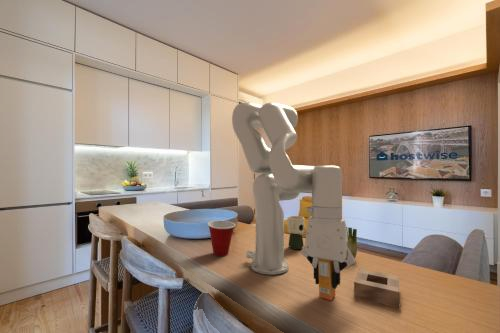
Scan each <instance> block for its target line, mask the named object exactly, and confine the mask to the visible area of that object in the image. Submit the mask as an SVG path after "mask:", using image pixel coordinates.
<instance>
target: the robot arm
mask: <svg viewBox="0 0 500 333" xmlns="http://www.w3.org/2000/svg"><path fill="white" fill-rule="evenodd" d="M298 122H299V116H298V112H297V110H296V109H294V107H292V106H289V105H286V104H282V103H281V104H280V103H278V102H266V103H264V104H263V105H261V104H257V103H253V102H241V103H237V105H235V107H234V109H233V110H232V117H231V123H232V128H233V131H234V133H235V136H236V138H237V140H239V143H240V145H241V148H242V151H243V153H244V156H245V159H246V161H247V162H246V163H247V165H248V167H249V169H250V171H251V172H252V173H253V174H257V177H255V179H254V180H253V183H252V192H253V197H254V205H255V250H252V249H248V250H247V251H246V255H245V257H246V258H248V259H252V261H251V262H250V268H251V270H252V271H254V272H255V273H258V274H262V275H270V276H272V275H273V276H274V275H281V274H282V275H283V274H284V273H286V272H287V271H288V270H289V263H288V262H287V261H285V215H284V210H283V208H282V206H281V204H280V202H281V201H291V200H294V199H296V198H297V197H299V195H300V194H301V193H305V192H311V205H310V206H307V207H306V212H307V213H310V216H308V217H307V218H308V219H307V224H306V231H305V232H306V233H305V241H304V242H305V243H304V245H303V248H302V249H301V251H300V254H301V255H302V256H303V257H304V258H305V259H307V261H308V262H309V264H311V267H312V268H313V279H314V280H315V282H314V283H315V285H319V273H318V258H320V259H325V260H330V261H333V263H334V271H333V288H334V289H335V290H336V289H337V288H338V286H340V285H341V271H343V270H344V269H345V268H347V267H351V266H352V265H354V264H355V263H356V258H355V259H354V257H353V255H352V254H351V252H350V250H349V248H348V237H347V231H348V228H347V229H346V227H347V223H346V219H344V218H343V170H342V168H341V167H340V166H337V165H316V166H315V165H302V164H301V165H300V164H293V163H292V161H291V159H290V156H289V155H288V154H287V153H286V150H288V149H290V148H291V147H292V146H293V145H295V143H296V142H297V140H298V135H297V133H296V131H295V129H294V128H295V127H296V126H297V124H298ZM256 128H262V129H263V130H264V132H265V134H266V136H267V137H268V140H269V142H270V145H271V148H270V147H268V146H267V144H266V142H265V140H264V137H263V136H262V135H261V133H260V132H259V131H258V130H257V129H256ZM346 257H347V259H346Z"/></svg>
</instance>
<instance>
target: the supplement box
mask: <svg viewBox="0 0 500 333" xmlns="http://www.w3.org/2000/svg"><path fill="white" fill-rule="evenodd" d="M333 271H334V263H333V261H330V260H325V259H320V258H318V273H319V284H318V294H319V297H320V298H322V299H325V300H328V301H332V300H333V299H334V297H335V296H336V289H334V288H333Z"/></svg>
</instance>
